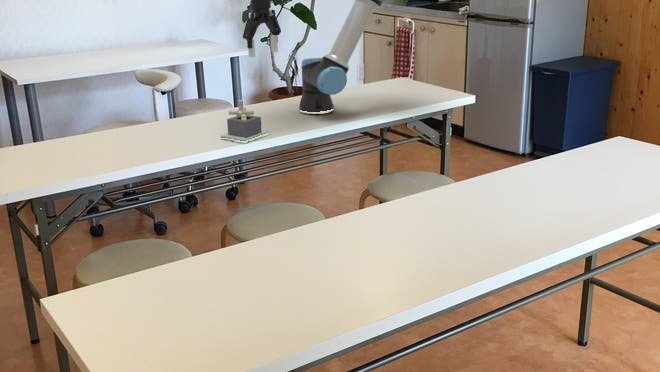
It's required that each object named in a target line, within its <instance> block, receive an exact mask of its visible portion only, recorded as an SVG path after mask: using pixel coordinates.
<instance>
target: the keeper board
mask: <svg viewBox="0 0 660 372" xmlns="http://www.w3.org/2000/svg"><path fill="white" fill-rule="evenodd" d="M241 120H247V118H246V115H245V114H243V115H241ZM268 132H269V130H263V129H262V132H261V133H258V134H256V135H253V136H250V137H247V138H244V137H239V136H233V135H228V132H227V133H224V134H220V138H221V137H222V138H228V139H234V140H240V141H246V140H249V139H252V138H255V137H258V136H260V135H263V134H266V133H268Z"/></svg>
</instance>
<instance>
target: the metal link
mask: <svg viewBox="0 0 660 372" xmlns="http://www.w3.org/2000/svg"><path fill="white" fill-rule="evenodd" d="M242 115H243V114H242ZM246 118H247V120H241V115H239V116H237V115H236V116H233V117H230V118H227V119H226V123H227V133H228V135H233V136H239V137H244V138H247V137H250V136H253V135H256V134H258V133H261V132H262V130H263V129H262V117H261V116H257V115H246Z"/></svg>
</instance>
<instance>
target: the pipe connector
mask: <svg viewBox="0 0 660 372" xmlns="http://www.w3.org/2000/svg"><path fill="white" fill-rule="evenodd" d="M237 102H238V105H237V106H238V109H229V110H228V115H229V116H230V115H236V116H239V115H242V114H245V115H251V116H255V115H254V114H255V110H252V109H250V110H249V109H248V110H247V108H246V107H244V103H243V102H244V101H243V99H238V100H237Z"/></svg>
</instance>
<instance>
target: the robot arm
mask: <svg viewBox="0 0 660 372" xmlns="http://www.w3.org/2000/svg"><path fill="white" fill-rule="evenodd" d="M383 1H384V0H355V1H354V3H353V4H352V7H351V8H350V11H349V13H348V14H347V17H346V19H345V20H344V23H343V25H342V27H341V28H340V31H339V33H338V35H337V36H336V39H335V41H334V44H333V45H332V47H331V49H330V51H329V52H328V53H327V54H325V55H323V57H321V56H320V57H311V58H304V59H303V60H302V61H301V83H302V95H301V98H300V103H299V105H298V110H299V109H300V110H302V111H307V112H320V111H327V110H331V109H333V108H334V109H335V105H334V103H333V99H332V96H331V95H333V96H334V95H337V94H339V93H341V92H342V91H344V90H345V88H346V85H347V83H348V77H347V74H348V72H349V70H350V67H349V61H350V59H351V58H352V55H353V54H354V51H355V49H356V47H357V45H358V43H359V41H360V39H361V37H362V35H363V33H364V31H365V30H366V27H367V25H368V23H369V21H370V19H371V17H372V15H373V13H374V12H375V11H376V10H379V9H380V7H381V5H382V4H383ZM271 4H272V3H271V0H250V8H251V9H252V12H247V13H246V15H247V16H246V22H245V26H244V30H243V34H242V38H243V39H244V40H246V44H247V46H246V47H247V50H248V51H247V52H248V58H249V57H250V58H256V46H255V45H256V43H255V39H254V37H255V36H256V35H255V34H256V33H257V30H258V27H260V25H262V24H265V26H266V27H267V28H268V30H269V31H270V33H271V34H270V51H271V53H278V50H279V49H278V42H279V40H278V39H279V38H278V36H279V35H281V32H282V30H281V26H280V23H279V22H278V19H277V16H276V10H275V9H271V8H272V6H271Z"/></svg>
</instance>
